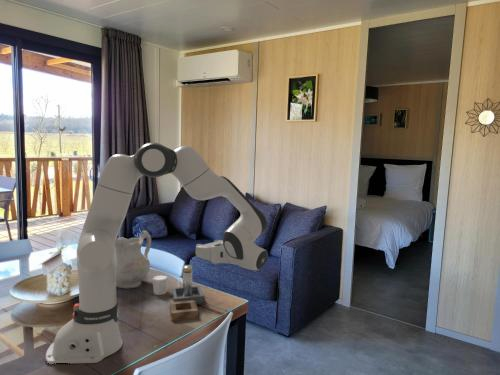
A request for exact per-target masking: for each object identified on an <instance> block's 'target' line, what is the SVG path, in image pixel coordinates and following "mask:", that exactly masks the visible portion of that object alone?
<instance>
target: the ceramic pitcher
mask: <svg viewBox="0 0 500 375" xmlns="http://www.w3.org/2000/svg"><path fill="white" fill-rule="evenodd" d="M144 240H146V246H145V249H144V253H142V245H143V244H144ZM115 246H116V288H120V289H126V290H127V289H134V288H138V287H139V286H141V285H142V283H143V282H142V280H144V278H145V277H146V276H147V275H148V274H149V272H150V267H151V266H150V264H151V262H150V260H149V258H148V256H149V255H148V254H149V252H150V250H151V246H152V237H151V235H150V233H149V231H148V230H147V229H144V230H141V234H140V236H139V237H132V238H125V237H123V236H120V237H117V239H116V243H115Z"/></svg>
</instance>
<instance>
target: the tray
mask: <svg viewBox="0 0 500 375" xmlns="http://www.w3.org/2000/svg"><path fill="white" fill-rule="evenodd" d="M171 294H172V295H171V296H172V302H180V301H190V300H195V303H196V306H198V305H204V304H205V303H204V301H205V300H204V293H203V291H202V289H201V286H200V285H192V296H187V297H183V286H180V287H172V288H171Z"/></svg>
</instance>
